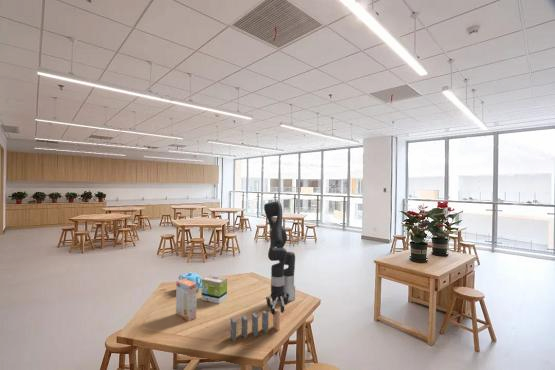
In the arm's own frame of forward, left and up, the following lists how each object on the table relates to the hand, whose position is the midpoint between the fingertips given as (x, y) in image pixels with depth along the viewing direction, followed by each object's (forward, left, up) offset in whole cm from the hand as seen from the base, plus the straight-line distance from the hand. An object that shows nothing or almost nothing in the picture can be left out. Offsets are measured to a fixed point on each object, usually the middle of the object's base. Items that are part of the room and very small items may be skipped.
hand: (277, 313), depth 151 cm
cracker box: (+45, -36, -8) cm, 58 cm away
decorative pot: (+37, -77, -9) cm, 86 cm away
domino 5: (+1, 0, -8) cm, 8 cm away
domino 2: (+20, 0, -8) cm, 21 cm away
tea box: (+24, -53, -9) cm, 59 cm away
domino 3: (+14, 0, -8) cm, 16 cm away
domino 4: (+8, 0, -8) cm, 11 cm away
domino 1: (+26, 0, -8) cm, 27 cm away
